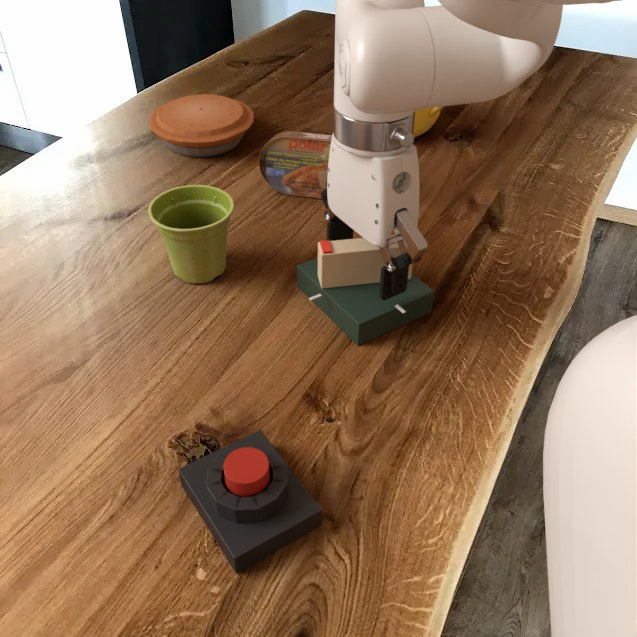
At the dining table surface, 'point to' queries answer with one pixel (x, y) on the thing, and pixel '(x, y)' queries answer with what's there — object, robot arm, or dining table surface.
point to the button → (246, 471)
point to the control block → (250, 505)
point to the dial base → (365, 304)
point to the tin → (295, 162)
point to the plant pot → (194, 230)
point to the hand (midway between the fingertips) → (365, 271)
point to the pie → (201, 124)
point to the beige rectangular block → (351, 262)
